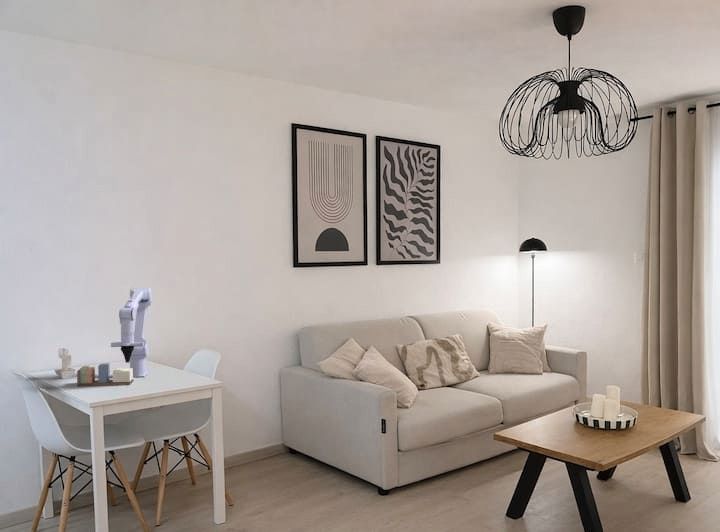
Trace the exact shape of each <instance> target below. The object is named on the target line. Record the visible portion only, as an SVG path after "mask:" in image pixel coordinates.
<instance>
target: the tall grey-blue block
mask: <svg viewBox="0 0 720 532" xmlns="http://www.w3.org/2000/svg"><path fill="white" fill-rule="evenodd" d="M110 364H111V363H109V362H108V363H105V362H103V363H100V364H99V365H98V368H97V369H98V370H97V373H98V376H97V377H98V379H97V380H98V383H107V382H108V381H109V380H111V379H110V373H111V370H110V367H111V366H110Z"/></svg>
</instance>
